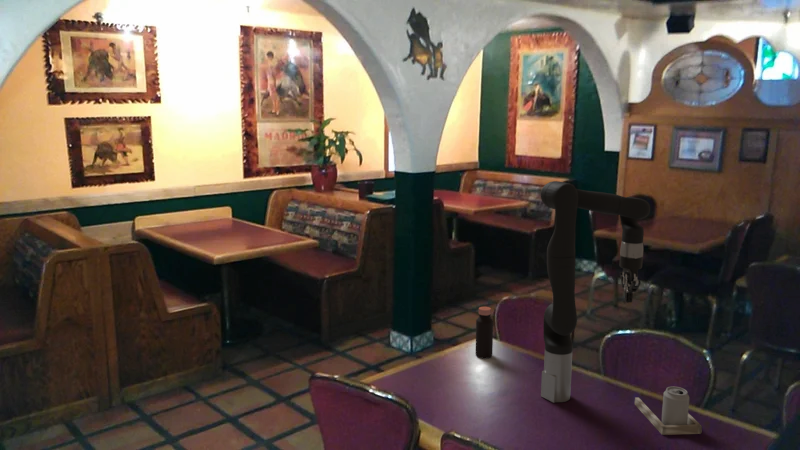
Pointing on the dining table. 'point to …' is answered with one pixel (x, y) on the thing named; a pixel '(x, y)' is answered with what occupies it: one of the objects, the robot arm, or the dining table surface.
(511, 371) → the dining table surface
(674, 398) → the can
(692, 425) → the wooden frame
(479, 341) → the bottle
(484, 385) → the dining table surface
